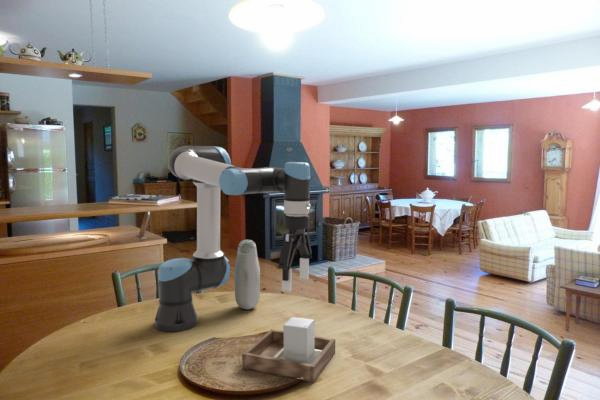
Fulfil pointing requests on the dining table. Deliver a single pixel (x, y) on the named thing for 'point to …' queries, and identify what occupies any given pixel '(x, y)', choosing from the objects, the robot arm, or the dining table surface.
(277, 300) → the dining table surface
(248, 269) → the grey rounded cylinder
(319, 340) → the crate
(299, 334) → the supplement box
